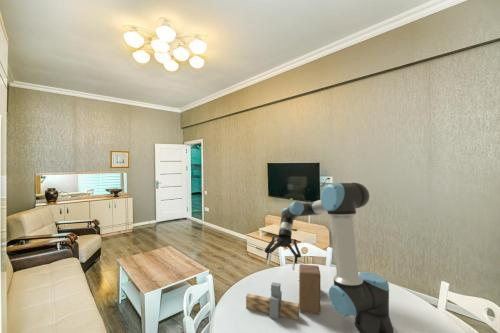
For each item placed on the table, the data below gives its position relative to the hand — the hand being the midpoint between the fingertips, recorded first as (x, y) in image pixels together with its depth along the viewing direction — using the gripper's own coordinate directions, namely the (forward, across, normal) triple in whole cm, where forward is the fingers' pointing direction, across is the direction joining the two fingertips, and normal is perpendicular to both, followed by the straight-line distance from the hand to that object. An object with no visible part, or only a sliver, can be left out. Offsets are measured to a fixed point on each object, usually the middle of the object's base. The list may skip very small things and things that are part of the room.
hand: (280, 267), depth 122 cm
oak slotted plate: (+20, +2, -5) cm, 21 cm away
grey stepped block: (+20, 0, -5) cm, 21 cm away
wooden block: (+14, -15, -12) cm, 24 cm away
